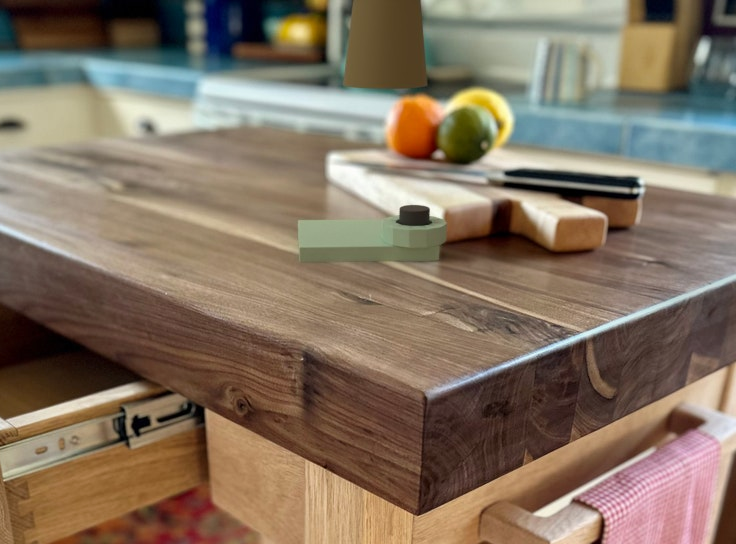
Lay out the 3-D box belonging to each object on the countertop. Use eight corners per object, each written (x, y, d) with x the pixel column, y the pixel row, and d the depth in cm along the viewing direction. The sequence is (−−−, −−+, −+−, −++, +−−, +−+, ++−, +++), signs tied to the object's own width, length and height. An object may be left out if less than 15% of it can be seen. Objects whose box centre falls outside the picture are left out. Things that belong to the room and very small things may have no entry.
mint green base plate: (430, 232, 84) (431, 201, 83) (449, 263, 74) (451, 228, 73) (298, 234, 83) (297, 203, 82) (299, 265, 74) (299, 230, 72)
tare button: (426, 222, 77) (427, 204, 76) (431, 229, 74) (432, 211, 74) (397, 222, 77) (397, 204, 76) (400, 229, 74) (401, 211, 74)
